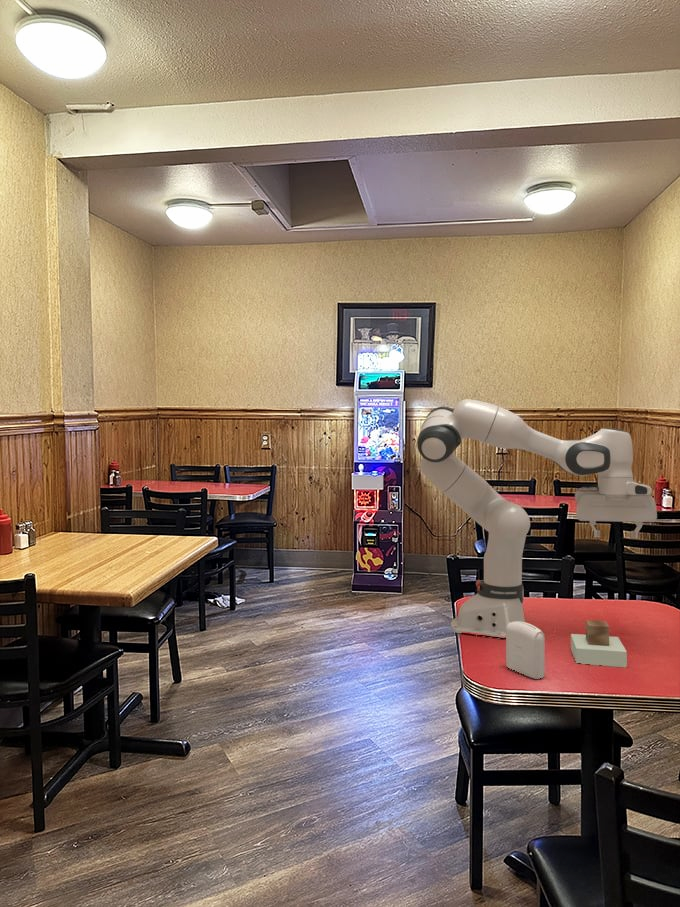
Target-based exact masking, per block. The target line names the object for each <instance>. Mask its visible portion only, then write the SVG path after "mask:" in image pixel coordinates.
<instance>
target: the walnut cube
mask: <svg viewBox="0 0 680 907" xmlns="http://www.w3.org/2000/svg"><path fill="white" fill-rule="evenodd" d="M585 635H586V640H587V642H588V645H600V646H609V636H610V626H609V624H608V622H607V621H605V620H588V619H587V620H586V621H585Z"/></svg>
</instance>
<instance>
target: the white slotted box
mask: <svg viewBox="0 0 680 907" xmlns="http://www.w3.org/2000/svg"><path fill="white" fill-rule="evenodd" d="M545 638H546V637H545V633H544V632H543V631H542V630H541V629H540V628H538V627H537V626H535V625H533V624H531V623H529V622H526V621H525V622H520V621H515V622H511V623H509V624H508V625H507V627H506V639H505V665H506V666H507V667H508V668H510V669H509V670H511V669H512V670H511V671H513V670H515V671H514V672H516V671H517V672H516V673H518V672H519V673H518V674H521V673H522V674H521V675H523V674H524V676H526V677H528V678H531V679H535V680H541V679H543V678H544V677H545V674H546V669H545V668H546V667H545V666H546V663H545V661H546V659H545V658H546V657H545V656H546V654H545V651H546V649H545V647H546V645H545V641H546V640H545ZM507 667H506V668H507ZM508 668H507V669H508ZM540 678H541V679H540Z"/></svg>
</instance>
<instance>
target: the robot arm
mask: <svg viewBox="0 0 680 907" xmlns="http://www.w3.org/2000/svg"><path fill="white" fill-rule="evenodd" d="M464 439H472V440H475V441H478V442H480V443H483V444H486V445H489V446H492V447H494V448H500V449H505V450H522V451H523V450H524V451H528V452H531V453H533V454H536V455H539V456H540V457H544V458H546V459H549V460H552V461H553V462H554V463H555V464H556V465H557V466H558V467H559V468H560V469H561V470H562V471H564V472H565V473H568V474H571V475H576V476H580V477H582V476H583V477H584V476H585V477H586V476H590V475H593V474H597V486H594V487H593V486H590V487H587V486H582V487H580V488H578V489H576V491H575V493H574V500H575V502H576V509H575V510H576V511H575V517H576V519H577V520H578V521H580V522H589V525H590V526H591V529H592V530H593V537H594V538H601V530H599V529H597V528H596V527H595V526H597V524H596V523H597V522H621V523H622V522H624V523H625V522H626V523H627V522H630V523H634V524H635V526H636V527H635V529H634V530H631V531H630V538H631V539H638V538H639V532H640V530H641V529H642V527H643V523H655V521H656V520H657V519H658V513H657V512H658V511H657V504H656V501H655V498H654V497H653V496H652V493H653V489H652V487H650V486H649V485H646V484H643V483H641V482H639V481H638V482H637V481H634V473H633V471H632V470H633V469H632V465H633V462H634V450H633V447H634V446H633V440H632V436H631V434H630V433H629V432H628V431H626V430H623V429H619V428H612V427H603V428H600V429H599V430H598V431H596V433H593V434H591V435H590V436H586V437H585V438H582V439H573V438H572V439H559V438H556V437H554V436H551V435H549V434H545V433H543V432H541V431H538V430H535V429H534V428H532V427H531V426H529V425H528V424H527V423H526V422H525V421H524V419H523V418H522V417H520V416H519V415H518V414H516V413H515V412H512V411H510V410H508V409H506V408H504V407H501V406H498V405H496V404H493V403H490V402H487V401H486V402H485V401H482V400H478V399H477V400H476V399H471V398H465V399H462V400H460V401H459V402H458V403H457V404H456V405H455V407H454V408H451V407H449V406H438V407H436V408H434V409H432V410H431V411H430V412H429V413H428V414H427V415H426V417H425V419H424V421H423V422H422V424H421V426H420V430H419V433H418V436H417V442H416V446H417V451H418V453H419V454H420V455H421V459H420V462H419V469H420V471H421V473H422V474H423V475H424V476H425V477H426V479H427V480H428V481H429V482H430V483H431V484H432V485H433V486H434V487H435V488H436V489H437V490H438V491H439V492H440V493H442V494H443V495H445V497H447V498H448V499H449V500H450V501H452V502H453V503H454V504H455V505H456V506H458V507H459V508H460V509H461V510H462V511H464V513H466V514H467V515H468V516H469V517H470V518H471V519H472V520H473V521H475V522H476V523H477V524H478V525H479V526H481V527H482V528H483V529H484V530H485V531H486V532H488V539H487V545H486V550H485V552H484V556H483V581H482V580H480V579H477V580H476V581H475V586H476V592H477V593H476V594H475V595H473V596H471V597H470V598H468V599H467V600H466V601H464V602H463V603H462V604H461V606H460V608H459V611H458V614H457V617H455V618H453V619H452V620H451V622H450V629H451V630H452V632H453V633H455V634H461V633H462V632H471V633H478V634H484V635H490V636H497V637H506V627H507V625H508V624H509V623H511V622H515V621H520V622H526V620H525V616H524V615H525V614H524V609H523V605H524V604H523V603H524V594H525V593H524V585H523V581H522V579H523V575H522V574H523V553H524V548H525V543H526V538H527V534H528V533H529V531H530V528H531V519H530V516H529V515H528V513H527V512H526V510H525V509H524V508H523V507H522V506H521V505H519V504H517V503H515V502H511V501H509V500H507V499H505V498H504V497H503V496H502V495H501V494H499V492H497V491H496V490H495V489H494V488H493V487H492V486H491V484H489V483H488V482H487V480H486V479H485V478H483V477H482V476H481V475H480V474H478V473H477V472H476V471H475V470H474V469H473V468H471V467H470V466H468V464H466V463H465V462H464V461H463V460H461V459H460V458H459V457H457V455H456V453H455V450H457V448H458V447H459V446H460V445H461V444H462V440H464Z"/></svg>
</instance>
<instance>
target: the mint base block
mask: <svg viewBox="0 0 680 907" xmlns="http://www.w3.org/2000/svg"><path fill="white" fill-rule="evenodd" d="M570 649H571V654H572V656H573V659H574V658H575V659H574V662H575V661H576V662H575V664H576V663H581V664H580V665H585V664H590V665H589V666H599V665H602V666H601V667H612V668H613V667H614V668H615V667H616V668H625V669H626V668H627V667H628V652H627V649H626V648H625V646H624V644H623V643H622V641H621V640H620V637H619V636H611V635H609V646H600V645H588V642H587V640H586V634H579V633H570Z"/></svg>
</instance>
